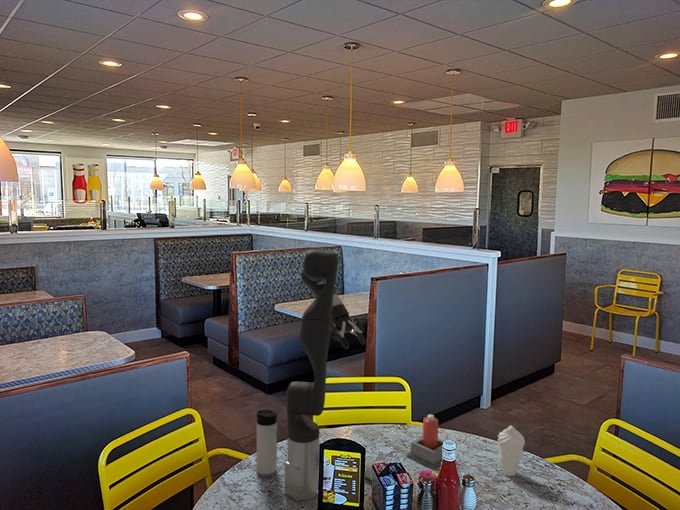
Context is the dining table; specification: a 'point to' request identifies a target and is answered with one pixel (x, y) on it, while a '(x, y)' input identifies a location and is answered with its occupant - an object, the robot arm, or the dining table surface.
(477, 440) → the dining table surface
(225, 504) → the dining table surface
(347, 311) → the robot arm
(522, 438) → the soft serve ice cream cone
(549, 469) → the dining table surface
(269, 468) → the travel mug
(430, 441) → the squeeze bottle
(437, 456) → the box
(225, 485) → the dining table surface
